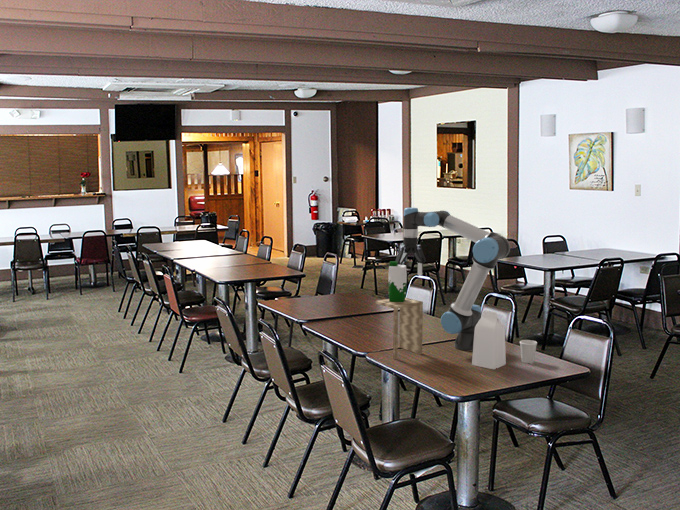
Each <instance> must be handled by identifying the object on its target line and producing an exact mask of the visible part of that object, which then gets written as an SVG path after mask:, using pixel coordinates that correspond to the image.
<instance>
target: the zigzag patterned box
mask: <svg viewBox="0 0 680 510" xmlns="http://www.w3.org/2000/svg"><path fill="white" fill-rule="evenodd" d="M374 303H375V305H379V306H382V307H385V308H386V307H387V308H390V309H393V319H392V320H393V327H392V329H393V331H392V332H393V335H392V337H393V338H392V339H393V340H392V341H393V342H392V343H393V344H392V345H393V346H392V347H393V348H392V351H393V352H392V359H394V360H397V359H398V347H399V348H401V349H404V350H406V351H408V352H412V353H415V354H419V355H422V354H423V325H424V324H423V320H424V319H423V316H424V315H423V313H424V312H423V311H424V308H423V307H424V306H423V305H424V302H423V301H422V300H417V299H412V298H409V297H405V300H404V302H389V298H386V299H385V298H384V299H378V300H375V301H374ZM398 318H399V319H398ZM398 322H399V323H398ZM398 324H399V325H398ZM398 326H399V327H398ZM398 332H399V333H398ZM398 334H399V338H398ZM398 340H399V344H398ZM398 345H399V346H398Z"/></svg>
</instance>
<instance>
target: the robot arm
mask: <svg viewBox="0 0 680 510" xmlns="http://www.w3.org/2000/svg"><path fill="white" fill-rule="evenodd" d="M437 226H439V227H441V228H444V229H445V230H448V231H450V232H452V233H454V234H456V235H458V236H461V237H463V238H464V239H468V240H469V241H471V242H473V243H475V244H474V245H473V247H472V254H473V256H472V258H471V260H472V262H473V264H472V265H471V267H470V270H469V272H468V274H467V276H466V279H465V280H464V283H463V285H462V287H461V290H460V291H459V293H458V295H457V298H456V299H455V302H452V303H450V305H449V307H448V310H447V311H445V312H444V313H443V314H442V315H441V317H440V324H441V327H442V329H443V330H444V331H445V332H446V333H447V334H450V335H455V334H457V335H456V338H455V340H454V348H455V349H457V350H461V351H467V352H473V343H474V330H475V326H476V324H477V323H478V321H479V320H480V318H481V317H482V307H481V306H480V305H477V304H475V302H476V300H477V297H479V293H480V291H481V289H482V287H483V286H484V283H485V281H486V279H487V277H488V274H489V273H490V270H494V269H495V268H496V265H497V264H498V261H499V260H503V259H504V258H506V257H507V256H508V255H509V254H510V252H511V244H510V242H509V240H508V239H507V238H506V237H505V236H503V235H501V234H498V233H496V232H493V231H491V232H489V231H486V230H485V229H482V228H480V227H478V226H475V225H473V224H471V223H468V222H467V221H464V220H462V219H460V218H458V217H455V216H453V215H451V213H450V212H449V211H447V210H438V211H436V210H435V211H419V209H418V207H405V208H404V209H403V246H399V248H398V253H397V256H396V258H395V260H394V261H397V264H398V265H404V264H403V263H404V262H405V260H407V257H408V256H409V255H414V257H415V259H416V260H417V262H418V263H417V276H423V269H424V264H425V262H427V259H426V257H425V254H424V251H423V248H422V246H423V245H421V244H418V243H419V242H418V240H419V239H418V238H419V237H418V236H419V227H427V228H435V227H437Z"/></svg>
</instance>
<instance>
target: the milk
mask: <svg viewBox="0 0 680 510" xmlns="http://www.w3.org/2000/svg"><path fill="white" fill-rule="evenodd" d="M506 357H507V355H506V328H505V325H504V323H503V322H502V321H501V319H500V318H499V317H498V313H497V312H496V311H489V310H484V311H483V313H482V314H481V318H480V320H479V321H478V323H477V324H476V326H475V330H474V343H473V351H472V357H471V366H475V367H481V368H485V369H490V370H496V368H497V369H499V368H500V367H503V366H506V363H507V359H506Z"/></svg>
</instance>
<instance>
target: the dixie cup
mask: <svg viewBox="0 0 680 510" xmlns="http://www.w3.org/2000/svg"><path fill="white" fill-rule="evenodd" d="M519 345H520V356H521V362H522V363H524V364H528V363H530V364H534V363H535V356H536V352H537V345H538V342H537V341H536V340H533V339H532V340H530V339H522V340H519Z"/></svg>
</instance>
